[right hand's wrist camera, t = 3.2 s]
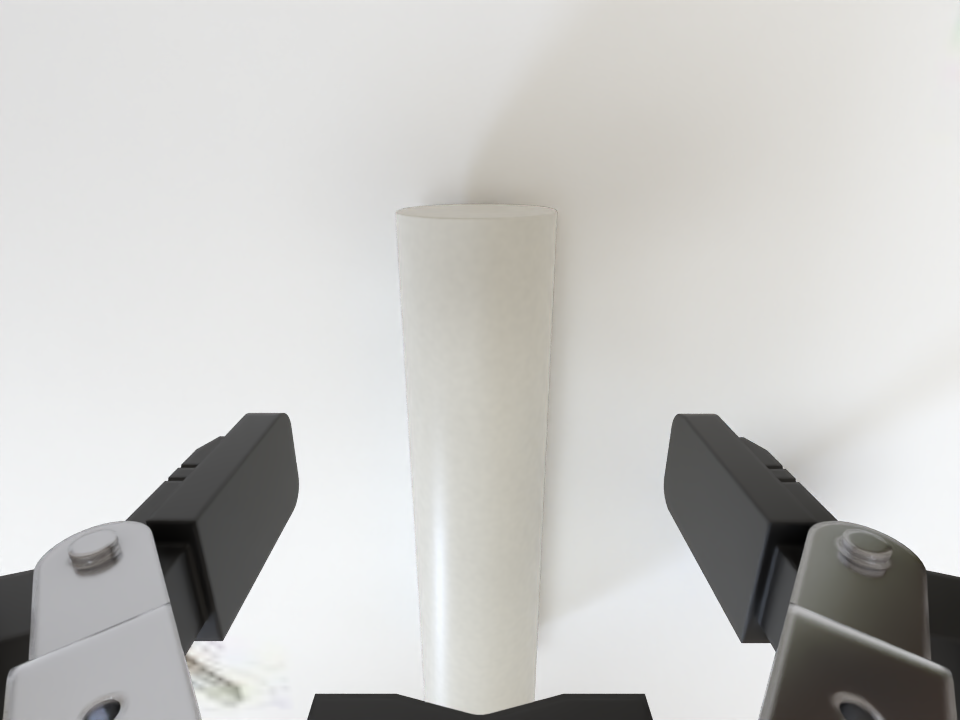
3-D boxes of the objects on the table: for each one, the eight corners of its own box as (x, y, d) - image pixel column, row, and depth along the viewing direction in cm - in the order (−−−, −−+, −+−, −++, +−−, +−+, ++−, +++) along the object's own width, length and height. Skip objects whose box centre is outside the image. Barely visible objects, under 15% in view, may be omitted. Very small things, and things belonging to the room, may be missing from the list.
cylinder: (406, 204, 23) (382, 218, 17) (546, 203, 23) (570, 217, 17) (429, 646, 32) (419, 752, 26) (528, 645, 32) (540, 750, 26)
